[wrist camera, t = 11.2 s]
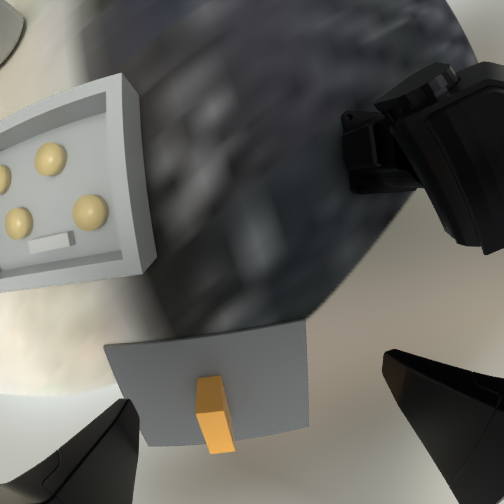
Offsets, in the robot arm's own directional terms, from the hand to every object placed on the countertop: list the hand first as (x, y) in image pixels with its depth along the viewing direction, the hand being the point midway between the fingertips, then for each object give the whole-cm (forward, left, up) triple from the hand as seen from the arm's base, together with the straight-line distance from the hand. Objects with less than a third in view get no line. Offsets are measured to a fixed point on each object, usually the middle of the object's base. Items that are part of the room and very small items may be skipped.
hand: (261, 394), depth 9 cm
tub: (+13, -9, -13) cm, 20 cm away
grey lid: (+3, +10, -13) cm, 17 cm away
